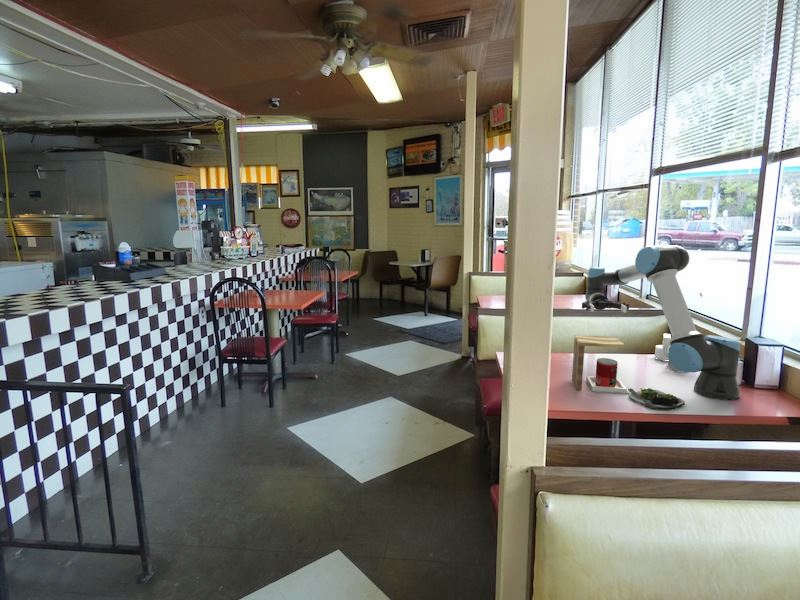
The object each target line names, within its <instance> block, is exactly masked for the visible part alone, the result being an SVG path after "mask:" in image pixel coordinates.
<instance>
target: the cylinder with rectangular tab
mask: <svg viewBox="0 0 800 600" xmlns="http://www.w3.org/2000/svg"><path fill="white" fill-rule="evenodd" d="M671 338H672V334H671V333H663V337H662V344H658V345H655V349H654V350H655V352H654V359H656V358H657V359H656V360H658V359H661V360H669V358H668V357H666V356H665V355H666V354H667V356H668V352H669V347H670V346H671V345H669V344H670V341H671V340H670V339H671ZM667 343H668V344H667ZM666 344H667V345H666ZM665 345H666V347H665ZM668 345H669V346H668ZM667 346H668V347H667ZM664 347H665V349H664ZM666 348H667V350H666ZM664 352H665V354H664ZM661 360H660V361H661Z"/></svg>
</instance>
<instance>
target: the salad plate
mask: <svg viewBox="0 0 800 600" xmlns="http://www.w3.org/2000/svg"><path fill="white" fill-rule="evenodd" d="M627 391H629V392H630V393H629V394H628V395H629V398H630V399H631V400H633V401H634V402H636V403H638V404H641V405H643V406H646V407H648V408H650V409H653V410H659V411H660V410H661V411H671V410H672V409H673V410H676V408H677V409H680V408H681V407H683V406H684V405H685V400H684V399H682V398H681V397H679V396H676V395H674V394H670V393H666V392H664V391H661V390H657V389H652V388H650V387H648V388H641V387H640V388H639V390H638V391H636V390H635V389H633V388H627Z"/></svg>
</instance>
